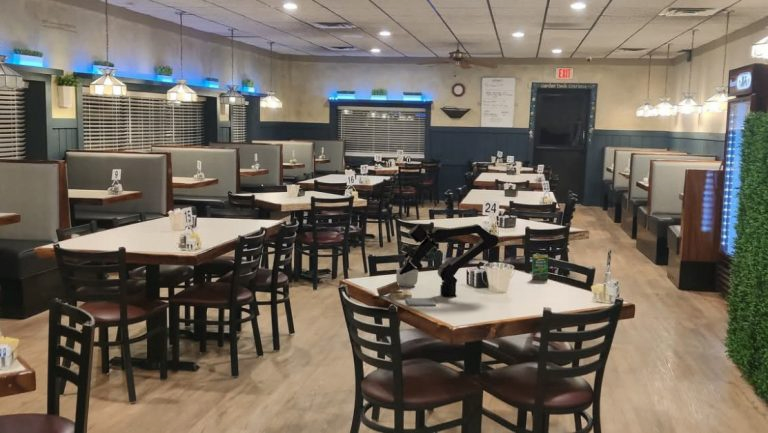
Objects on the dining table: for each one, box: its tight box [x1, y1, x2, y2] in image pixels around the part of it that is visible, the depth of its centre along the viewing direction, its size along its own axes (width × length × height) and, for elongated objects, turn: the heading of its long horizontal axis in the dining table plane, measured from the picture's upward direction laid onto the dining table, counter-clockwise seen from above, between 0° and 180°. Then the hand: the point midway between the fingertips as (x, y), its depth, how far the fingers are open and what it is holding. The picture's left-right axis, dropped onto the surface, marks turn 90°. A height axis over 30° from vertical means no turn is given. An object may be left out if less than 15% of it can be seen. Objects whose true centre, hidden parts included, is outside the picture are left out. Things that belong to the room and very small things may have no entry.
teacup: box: [395, 267, 420, 288], centre depth 366 cm, size 14×11×8 cm
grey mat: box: [405, 297, 437, 307], centre depth 332 cm, size 12×12×1 cm
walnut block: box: [376, 280, 401, 298], centre depth 343 cm, size 4×4×10 cm
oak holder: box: [389, 289, 413, 300], centre depth 344 cm, size 9×10×2 cm
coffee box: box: [531, 254, 549, 281], centre depth 388 cm, size 8×3×13 cm, turn 87°
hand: (399, 274), depth 343 cm, fingers closed
